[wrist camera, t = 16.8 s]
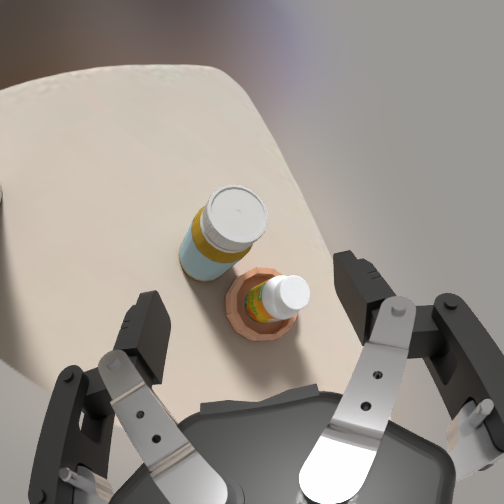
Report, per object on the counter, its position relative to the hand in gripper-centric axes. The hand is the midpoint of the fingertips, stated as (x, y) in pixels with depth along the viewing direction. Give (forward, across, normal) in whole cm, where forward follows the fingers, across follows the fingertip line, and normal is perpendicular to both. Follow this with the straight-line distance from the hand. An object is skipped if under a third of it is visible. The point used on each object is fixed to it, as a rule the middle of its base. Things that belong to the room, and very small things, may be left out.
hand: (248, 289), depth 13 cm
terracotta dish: (+22, -1, -19) cm, 29 cm away
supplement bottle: (+21, 0, -19) cm, 29 cm away
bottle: (+25, -7, -12) cm, 29 cm away
